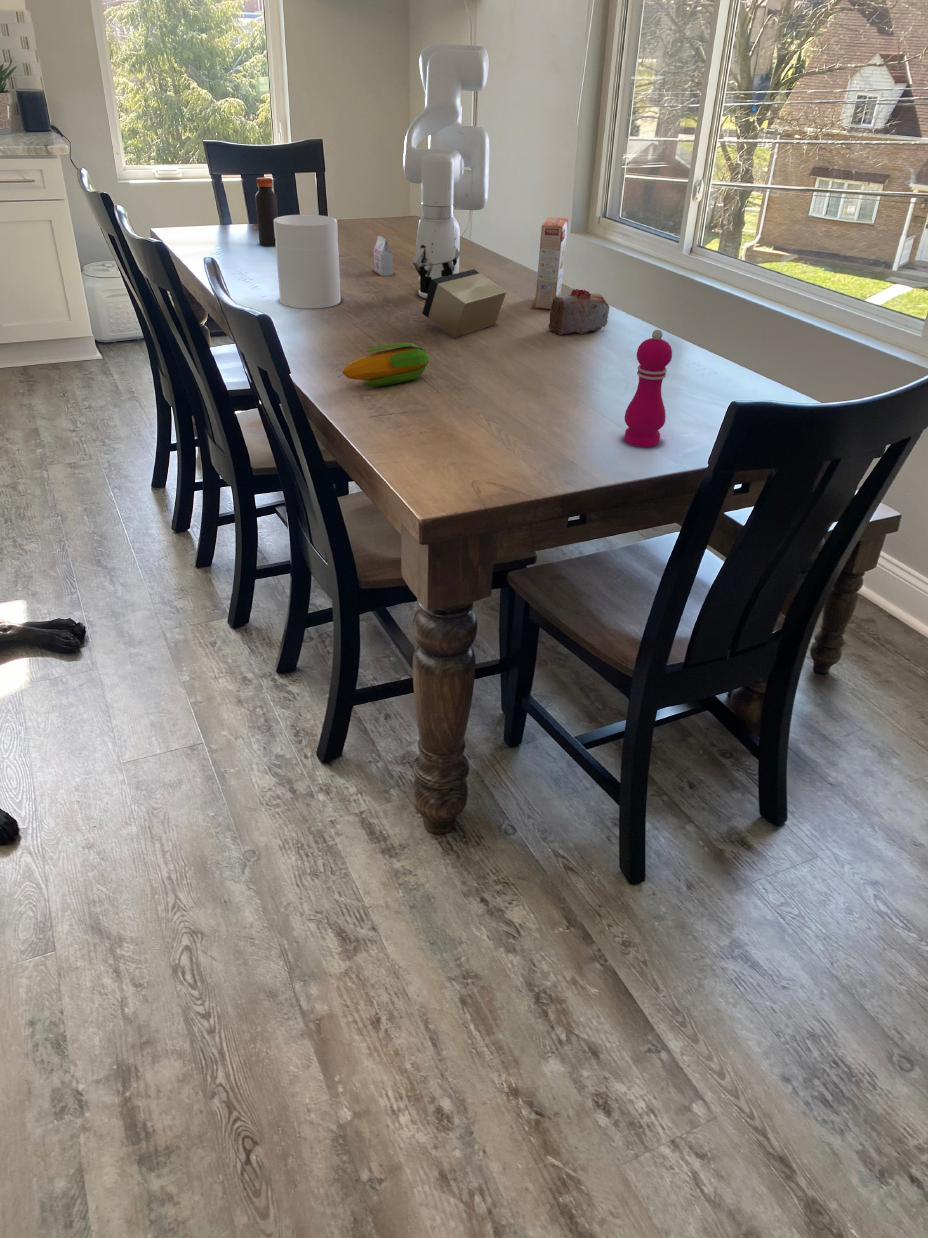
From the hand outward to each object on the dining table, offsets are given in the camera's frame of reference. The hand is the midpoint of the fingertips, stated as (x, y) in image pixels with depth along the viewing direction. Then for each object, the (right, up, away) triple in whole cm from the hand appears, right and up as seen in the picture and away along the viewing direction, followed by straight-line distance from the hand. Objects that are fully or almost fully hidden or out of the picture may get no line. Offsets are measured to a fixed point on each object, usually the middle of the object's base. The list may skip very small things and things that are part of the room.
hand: (436, 289), depth 220 cm
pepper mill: (+39, -49, -58) cm, 86 cm away
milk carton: (-18, +23, +48) cm, 56 cm away
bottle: (-58, +44, +77) cm, 106 cm away
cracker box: (+30, +5, +23) cm, 38 cm away
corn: (-9, -33, -35) cm, 49 cm away
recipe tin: (+4, -6, 0) cm, 7 cm away
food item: (+35, -10, +2) cm, 37 cm away
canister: (-34, +3, +18) cm, 39 cm away
